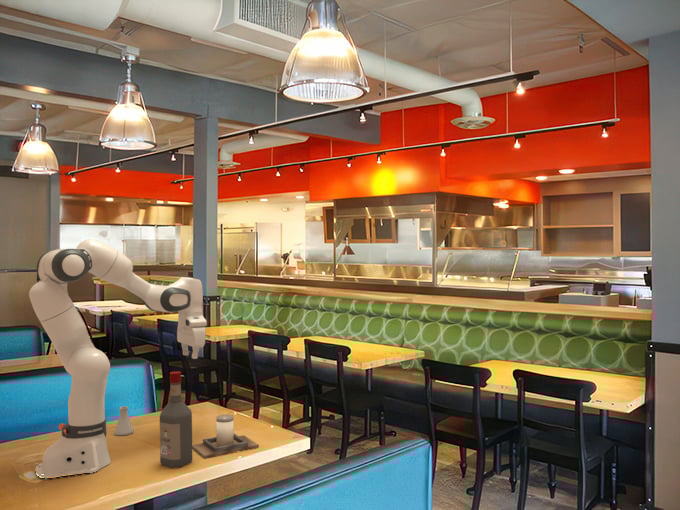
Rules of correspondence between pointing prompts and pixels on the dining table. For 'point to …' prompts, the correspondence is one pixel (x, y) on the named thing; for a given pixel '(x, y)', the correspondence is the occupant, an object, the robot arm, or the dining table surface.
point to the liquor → (175, 428)
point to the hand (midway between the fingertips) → (190, 356)
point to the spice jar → (224, 430)
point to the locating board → (211, 450)
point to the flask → (123, 423)
